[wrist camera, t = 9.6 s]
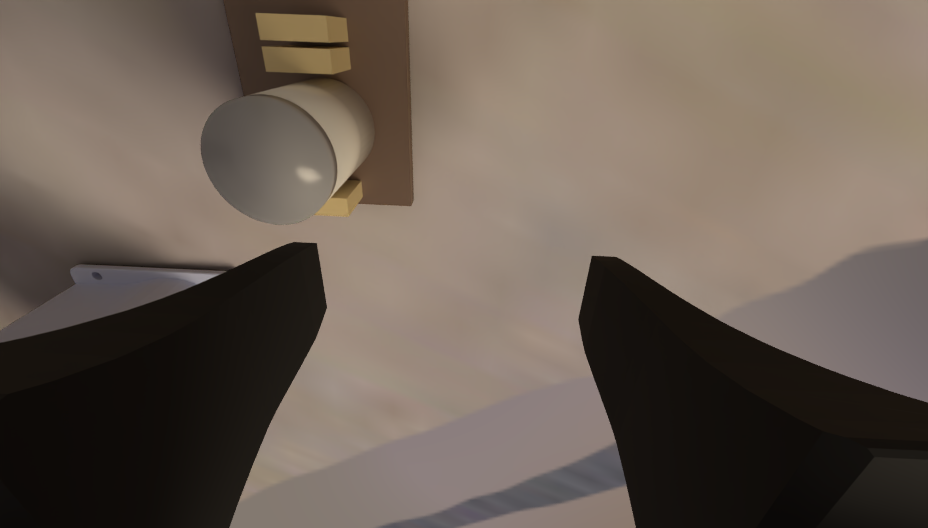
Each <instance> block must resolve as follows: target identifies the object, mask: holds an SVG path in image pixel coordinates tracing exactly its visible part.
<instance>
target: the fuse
mask: <svg viewBox="0 0 928 528" xmlns="http://www.w3.org/2000/svg"><path fill="white" fill-rule="evenodd" d="M374 137H375V128H374V122H373V118H372V115H371V112H370V110H369V108H368V106H367V105H366V103H365V102H364V100H363V99H362V98H361V97H360V95H359V94H358V93H357V92H356V91H354V90H353V89H352V88H351V87H349V86H348V85H346V84H344V83H342V82H340V81H337V80H334V79H331V78H313V79H308V80H304V81H301V82H297V83H293V84H289V85H285V86H282V87H278V88H274V89H270V90H266V91H263V92H259V93H255V94H251V95H247V96H243V97H240V98H236V99H233V100H230V101H227V102H226V103H224V104H222V105H220V106H219V107H218V108H217V109H216V110H214V112H213V113H212V114H211V115H210V116H209V118H208V120H207V121H206V123H205V126H204V128H203V132H202V136H201V155H202V160H203V164H204V167H205V170H206V172H207V174H208V176H209V178H210V180H211V182H212V183H213V185H214V187H215V188H216V189H217V191H218V192H219V193H220V195H221V196H222V197H223V198H224V199H225V200H226V201H227V202H228V203H229V204H231V205H232V206H233V207H234V208H236V209H237V210H238V211H240V212H241V213H243V214H245V215H247V216H248V217H251V218H253V219H255V220H258V221H261V222H264V223H269V224H275V225H289V224H295V223H299V222H302V221H304V220H306V219H308V218H310V217H311V216H313V215H314V214H315V213H316V212H318V211H319V210H320V209H321V207H322V206H323V205H324V204H325V203H326V202H327V201H328V200H329V199H330V198H331V197H332V195H333V194H334V193H335V192H336V191H337V190H338V189H339V188H340V187H341V186H342V185H343V183H344V182H345V181H346V180H347V179H348V178H349V177H350V176H351V175H352V174H353V173H354V171H355V170H356V169H357V168H358V167H359V166H360V165H361V164H362V163H363V162H364V161H365V159H366V158H367V157H368V155H369V154H370V152H371V149H372V147H373V143H374Z"/></svg>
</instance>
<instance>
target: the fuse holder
mask: <svg viewBox="0 0 928 528" xmlns="http://www.w3.org/2000/svg"><path fill="white" fill-rule="evenodd" d="M223 1H224V5H225V10H226V15H227V19H228V24H229V29H230V33H231V38H232V43H233V47H234V52H235V57H236V61H237V66H238V70H239V75H240V80H241V84H242V89H243V94H244V96H247V95H251V94H255V93H259V92H263V91H266V90H270V89H274V88H278V87H282V86H285V85H289V84H293V83H297V82H301V81H304V80H308V79H313V78H331V79H334V80H337V81H340V82H342V83H344V84H346V85H348V86H349V87H351V88H352V89H353V90H354V91H356V92H357V93H358V94H359V95H360V97H361V98H362V99H363V100H364V102H365V103H366V105H367V106H368V108H369V110H370V112H371V115H372V118H373V122H374V128H375V137H374V143H373V147H372V149H371V152H370V154H369V155H368V157H367V158H366V159H365V161H364V162H363V163H362V164H361V165H360V166H359V167H358V168H357V169H356V170H355V171H354V173H353V174H352V175H351V176H350V177H349V178H348V179H347V180H346V181H345V182H344V183H343V185H342V186H341V187H340V188H339V189H338V190H337V191H336V192H335V193H334V194H333V195H332V197H331V198H330V199H329V200H328V201H327V202H326V203H325V204H324V205H323V206H322V207H321V209H320V210H319V211H318V212H316V213H315V214H314V215H324V216H346V217H349V215H350V214H351V213H352V211H353V210H354V209H355V207H356V206H357V204H376V205H399V206H411V205H412V203H413V200H414V196H413V161H412V126H411V91H410V56H409V21H408V0H223Z"/></svg>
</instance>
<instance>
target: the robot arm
mask: <svg viewBox="0 0 928 528" xmlns="http://www.w3.org/2000/svg"><path fill="white" fill-rule="evenodd" d="M70 273H71V276H72V278H73V280H74V282H75V285H73V286H71V287H70V288H68V289H66V290H65V291H63V292H62V293H60V294H58V295H57V296H55V297H53V298H52V299H50V300H49V301H47V302H45V303H44V304H42V305H41V306H39V307H37V308H36V309H34V310H32V311H31V312H29V313H28V314H26V315H24V316H23V317H21V318H19V319H18V320H16V321H15V322H13V323H11V324H10V325H8V326H6V327H5V328H3V329H2V330H0V528H229V527H230V524H231V521H232V518H233V515H234V512H235V510H236V507H237V504H238V502H239V499H240V496H241V494H242V491H243V489H244V486H245V483H246V481H247V478H248V476H249V473H250V470H251V468H252V465H253V463H254V460H255V458H256V456H257V453H258V451H259V448H260V446H261V444H262V441H263V439H264V436H265V434H266V432H267V429H268V427H269V425H270V423H271V420H272V418H273V416H274V414H275V412H276V410H277V408H278V407H279V405H280V403H281V401H282V399H283V397H284V396H285V394H286V392H287V390H288V388H289V387H290V385H291V383H292V381H293V379H294V378H295V376H296V374H297V372H298V370H299V369H300V367H301V365H302V363H303V361H304V359H305V358H306V356H307V354H308V352H309V350H310V348H311V346H312V345H313V343H314V341H315V339H316V336H317V334H318V331H319V329H320V326H321V323H322V320H323V317H324V314H325V312H326V309H327V305H326V299H325V292H324V286H323V280H322V274H321V267H320V261H319V255H318V249H317V243H301V242H293V243H289V244H286V245H284V246H281V247H279V248H276V249H274V250H272V251H270V252H267V253H265V254H263V255H261V256H259V257H257V258H254V259H252V260H250V261H248V262H246V263H244V264H242V265H239V266H237V267H235V268H233V269H231V270H229V271H213V270H192V269H171V268H149V267H128V266H107V265H85V264H79V265H76V266H74V267H73V268H71V270H70ZM578 320H579V325H580V331H581V336H582V341H583V346H584V350H585V354H586V357H587V360H588V363H589V365H590V368H591V371H592V374H593V377H594V380H595V382H596V385H597V388H598V390H599V393H600V396H601V399H602V402H603V404H604V407H605V410H606V413H607V415H608V418H609V421H610V424H611V427H612V430H613V433H614V436H615V440H616V443H617V447H618V451H619V455H620V459H621V463H622V467H623V471H624V476H625V480H626V484H627V489H628V493H629V497H630V502H631V507H632V511H633V516H634V521H635V525H636V528H928V403H927V402H924V401H920V400H917V399H913V398H910V397H907V396H904V395H900V394H897V393H894V392H891V391H888V390H885V389H882V388H880V387H876V386H874V385H871V384H868V383H865V382H862V381H859V380H856V379H853V378H850V377H847V376H845V375H842V374H839V373H836V372H834V371H831V370H829V369H826V368H823V367H821V366H818V365H815V364H813V363H811V362H808V361H806V360H803V359H801V358H798V357H796V356H794V355H791V354H789V353H786V352H784V351H782V350H779V349H777V348H775V347H772V346H770V345H768V344H766V343H763V342H761V341H759V340H757V339H755V338H753V337H751V336H749V335H747V334H745V333H743V332H741V331H739V330H737V329H735V328H733V327H731V326H729V325H727V324H725V323H723V322H721V321H719V320H718V319H716V318H714V317H712V316H711V315H709V314H707V313H705V312H704V311H702V310H700V309H698V308H697V307H695V306H693V305H692V304H690V303H688V302H687V301H685V300H683V299H682V298H680V297H679V296H677V295H675V294H674V293H672V292H671V291H669V290H668V289H666V288H665V287H663V286H661V285H660V284H658V283H657V282H655V281H654V280H652V279H651V278H649V277H648V276H646V275H645V274H643V273H642V272H640V271H639V270H637V269H636V268H634V267H633V266H631V265H629V264H628V263H626V262H624V261H623V260H621V259H619V258H617V257H606V256H592V258H591V263H590V267H589V272H588V277H587V281H586V286H585V291H584V296H583V300H582V305H581V310H580V314H579V319H578Z"/></svg>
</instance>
